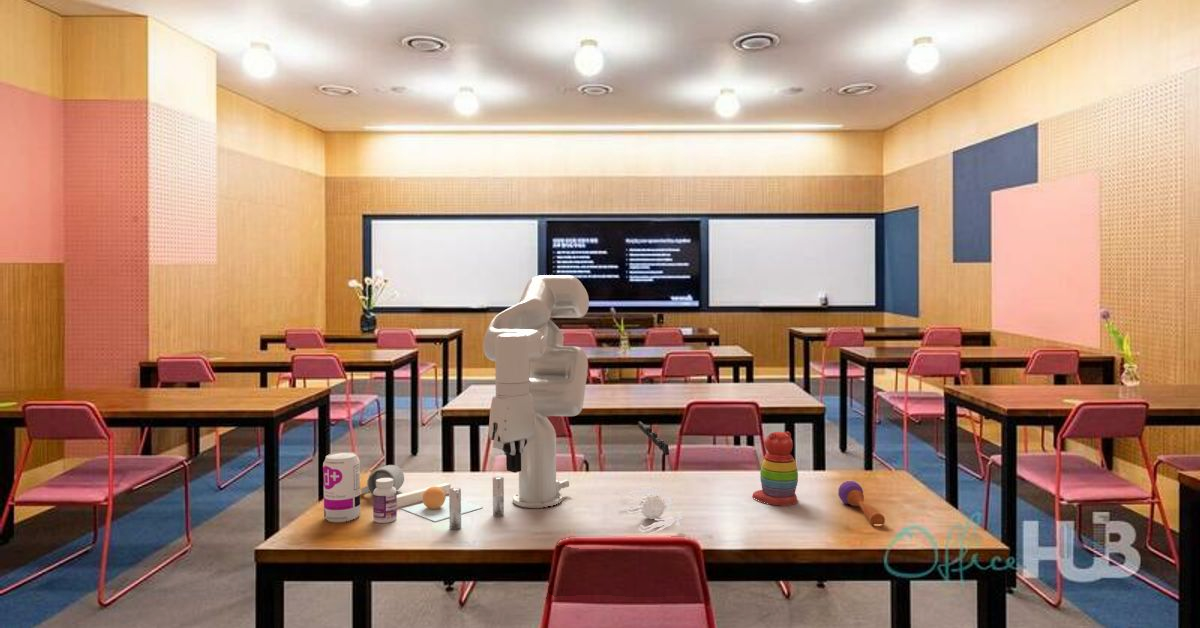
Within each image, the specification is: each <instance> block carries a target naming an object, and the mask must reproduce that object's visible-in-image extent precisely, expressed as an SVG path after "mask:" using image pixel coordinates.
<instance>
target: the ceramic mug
mask: <svg viewBox="0 0 1200 628" xmlns="http://www.w3.org/2000/svg"><path fill="white" fill-rule="evenodd" d="M380 478H392V479H393V481H394V484H393V487H395V488H396V491H398V490H400V489H401V487H402V486H403V484H404V482H405V474H404V472H403V470H402V469H401V468H400V467H399V466H397V465H395V464H388V465H387V464H386V465H384V466H382V467H380V468H376V470H373V471H372V472H371V473H370V474H369V476H368V478H367V480H366V486H364V487H362V488H360V493H361V494H362V495H366V494H368V493H370V494H371V496H373V491H374V490H375V489H376V488H377V487H376V480H377V479H380Z"/></svg>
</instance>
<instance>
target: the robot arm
mask: <svg viewBox="0 0 1200 628" xmlns="http://www.w3.org/2000/svg"><path fill="white" fill-rule="evenodd" d="M587 291H588V290H586V288H585V286H584V285H583V283H582V282H581V281H580V280H579V279H578V278H577V277H576V276H573V275H568V274H566V275H565V274H563V275H560V274H559V275H557V274H556V275H553V274H551V275H550V274H549V275H547V274H546V275H545V274H544V275H536V276H534V277H532V278H530V279H529V280H528V282H527V283H526V286H525V287H524V291H523V292H522V295H521V297H520V299H519V302H518V303H517V304H514V305H512V306H510V307H508V308H507V309H505V310H503V311H501V312H500V313H498V314H497V315H495V316H494V317H493V318H492V319H491V321H490V323H489V325H488V327H487V329H486V331H485V334H484V338H483V342H482V350H483V353H484V356H485V357H486V358H487V359H488V360H489V361H492V362H495V363H494V364H495V367H494V368H495V369H494V370H495V375H494V376H495V377H494V378H495V395H494V396H492V398H491V399H492V400H491V404H490V410H489V423H488V425H489V426H488V437H489V440H491V441H493V444H492V448H494V449H497V450H502V451H503V454H506V455H505V457H506V462H505V463H506V464H505V466H506V470H507V471H508V472H511V473H516V474H517V473H518V493H515V494H514V495H513V496H512V503H513V504H515V505H516V506H517V507H521V508H527V509H544V508H543V507H545V508H549V507H548V506H551V507H553V505H555V506H557V505H559V504H560V502H561V501H563V495H562V494H561V493H560V491H561V490H562V489H566V488H568V487H570V481H569V480H568V479H564V480H561V481H559V480H557V433H556V430H555V427H554V425H553V424H552V423H551V421H550V420H549V418H548V417H575V416H578V415H579V414H580V413H581V412H582V410H583V406H584V400H585V392H586V386H587V380H588V379H587V378H588V368H589V363H588V362H589V361H588V356H587V352H586V351H585V350H584V349H583V348H582V347H580V346H576V345H572V346H571V345H564V342H565V341H564V340H565V337H564V334H563V331H561V329H560V327H558V325H557V324H556V323H554V321H552V320H551V318H569V319H570V318H572V319H573V318H583V317H584V316H586V315H587V313H588V310H589V305H590V300H589V294H588V292H587ZM558 503H559V504H558ZM556 504H557V505H556Z"/></svg>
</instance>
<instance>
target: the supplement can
mask: <svg viewBox="0 0 1200 628" xmlns="http://www.w3.org/2000/svg"><path fill="white" fill-rule="evenodd" d="M360 462H361V461H360V458H359V456H358V454H357V453H356V452H353V451H352V452H351V451H342V452H334V453H333V452H332V453H329V454H328V455H326V456H325V459H324V461H323V463H322V472H323V473H322V474H323V476H322V477H323V481H322V482H323V518H325V520H327V521H328V522H331V523H346V521H347V522H351V521H353V519H354V520H356V519H357V518H359V516H360V515H361V471H360V469H361V467H360ZM350 520H351V521H350Z"/></svg>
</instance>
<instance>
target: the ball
mask: <svg viewBox="0 0 1200 628" xmlns="http://www.w3.org/2000/svg"><path fill="white" fill-rule="evenodd" d="M433 486H434V487H431V486H429V487H430V488H428V489H427V490H426V491H425V492H424V494H423V501H422V503H424V505H425V506H426V507H427V508H429V509H438V508H440V507H441V506H442V505H443V504H444V502H445V497H446V495H445V493H444V491H443V490H442V489H441V488H439V487H436V486H435V485H433Z"/></svg>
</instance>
